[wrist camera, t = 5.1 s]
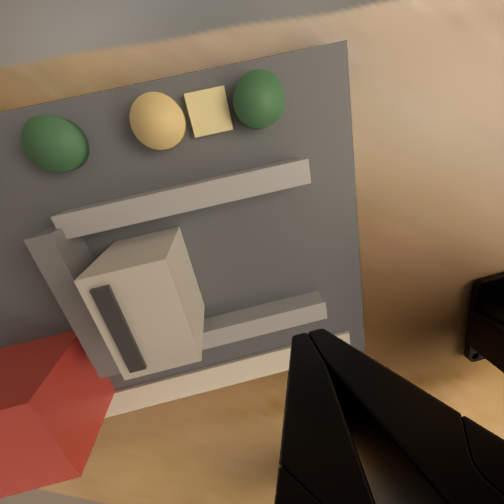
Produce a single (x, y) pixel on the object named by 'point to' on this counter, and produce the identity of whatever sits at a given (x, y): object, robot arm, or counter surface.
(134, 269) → the panel
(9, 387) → the cap
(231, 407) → the counter surface
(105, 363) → the breaker panel
